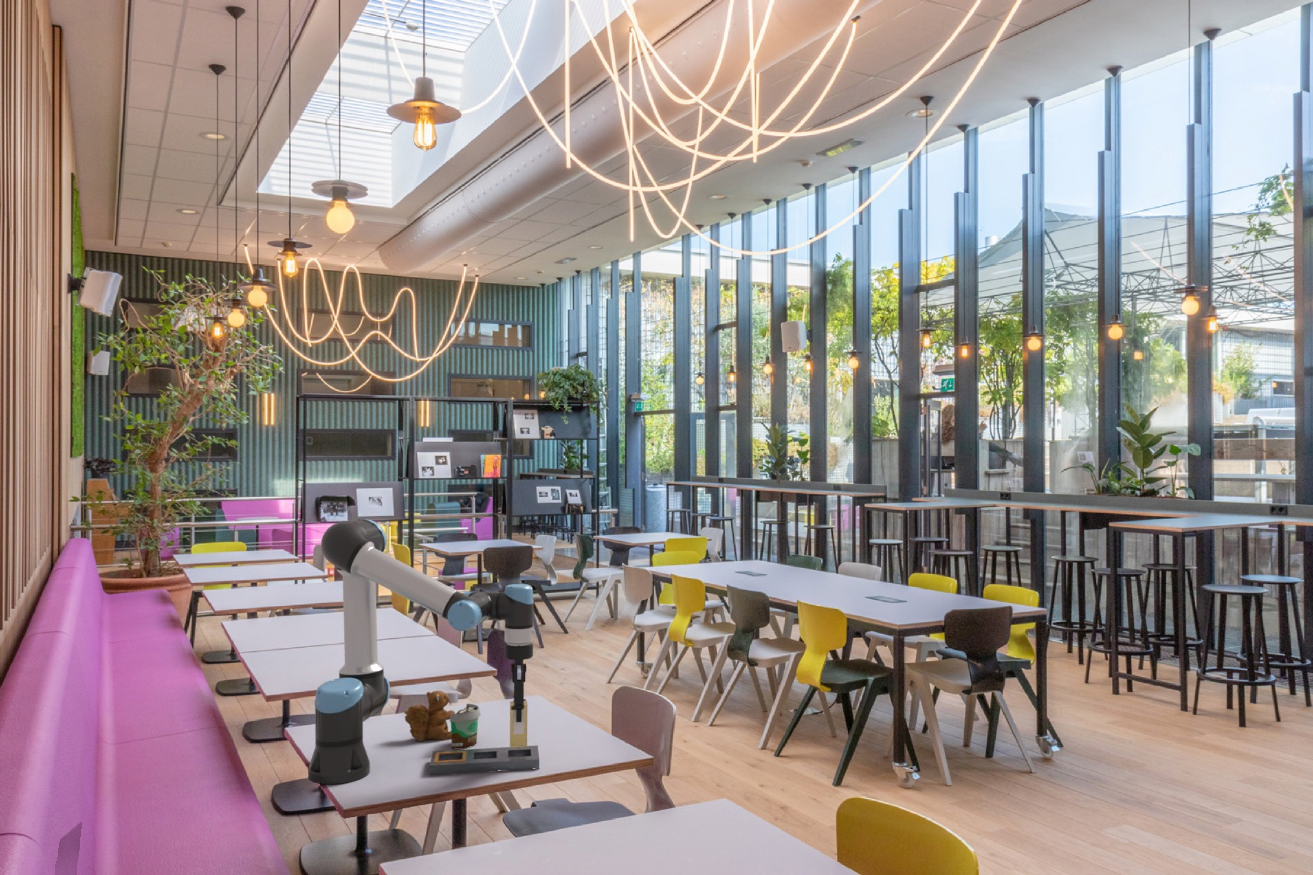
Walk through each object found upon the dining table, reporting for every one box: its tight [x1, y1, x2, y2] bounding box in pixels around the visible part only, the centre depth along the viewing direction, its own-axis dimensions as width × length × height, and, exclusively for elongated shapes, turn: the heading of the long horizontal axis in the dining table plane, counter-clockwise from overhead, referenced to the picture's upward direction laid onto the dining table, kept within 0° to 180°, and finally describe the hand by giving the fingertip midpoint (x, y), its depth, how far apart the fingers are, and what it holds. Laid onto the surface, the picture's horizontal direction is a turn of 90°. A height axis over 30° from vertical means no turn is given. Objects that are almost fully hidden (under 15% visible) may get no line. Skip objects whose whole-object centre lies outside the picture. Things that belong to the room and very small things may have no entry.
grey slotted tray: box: [428, 745, 540, 776], centre depth 248 cm, size 28×12×3 cm, turn 99°
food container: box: [449, 703, 482, 750], centre depth 266 cm, size 12×6×10 cm, turn 168°
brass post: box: [509, 700, 528, 748], centre depth 249 cm, size 4×4×11 cm
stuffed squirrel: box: [403, 690, 456, 742], centre depth 273 cm, size 10×14×13 cm
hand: (518, 730), depth 249 cm, fingers closed on brass post, 4 cm apart
